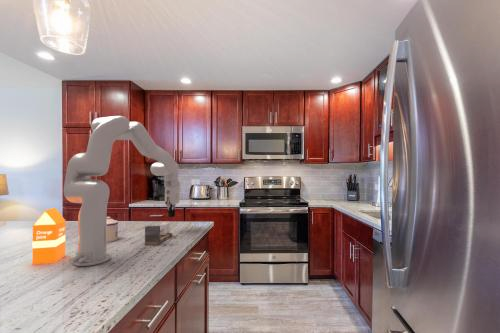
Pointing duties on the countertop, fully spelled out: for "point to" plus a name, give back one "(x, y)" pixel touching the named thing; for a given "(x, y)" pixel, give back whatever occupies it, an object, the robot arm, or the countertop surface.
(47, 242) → the orange juice
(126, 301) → the countertop surface
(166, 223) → the gauge slider
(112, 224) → the teacup with lid
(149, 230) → the gauge base
